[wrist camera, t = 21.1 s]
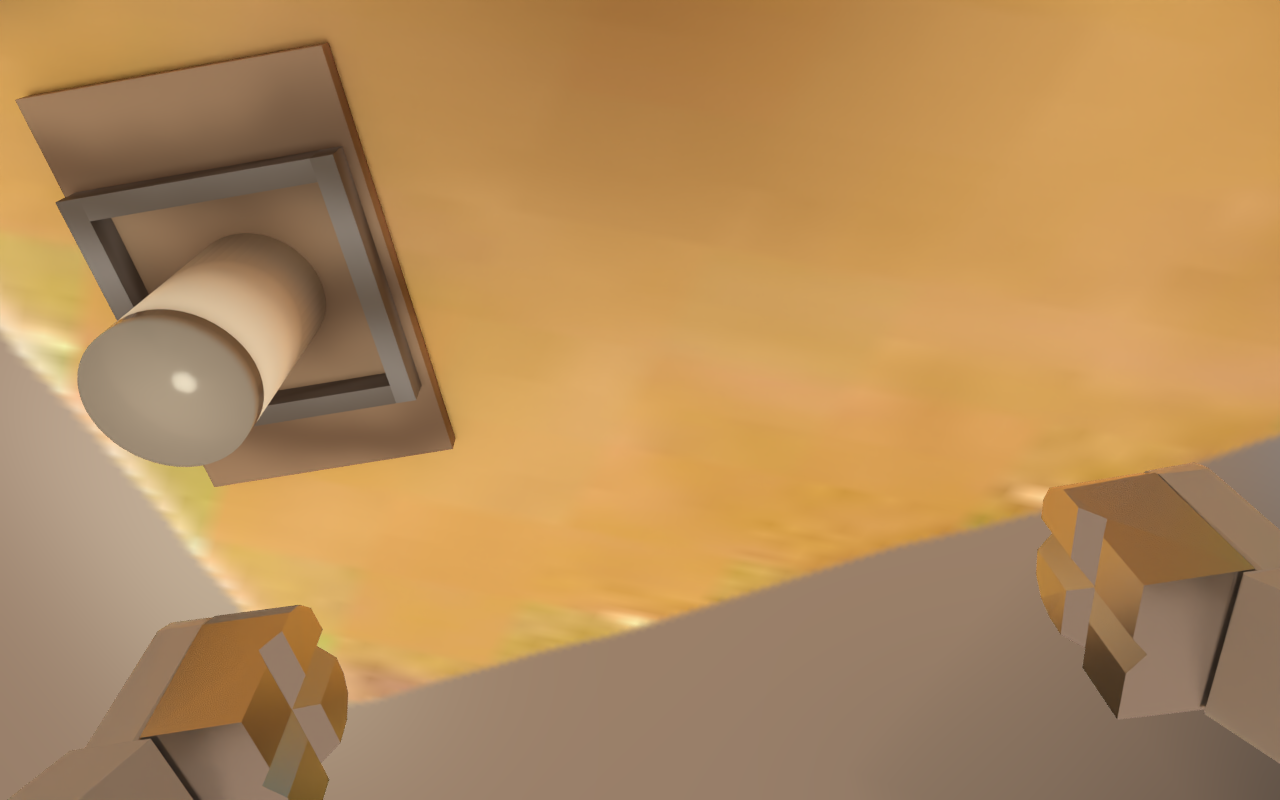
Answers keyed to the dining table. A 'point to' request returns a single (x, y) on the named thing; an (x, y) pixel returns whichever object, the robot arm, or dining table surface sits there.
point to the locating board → (259, 204)
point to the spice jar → (203, 352)
